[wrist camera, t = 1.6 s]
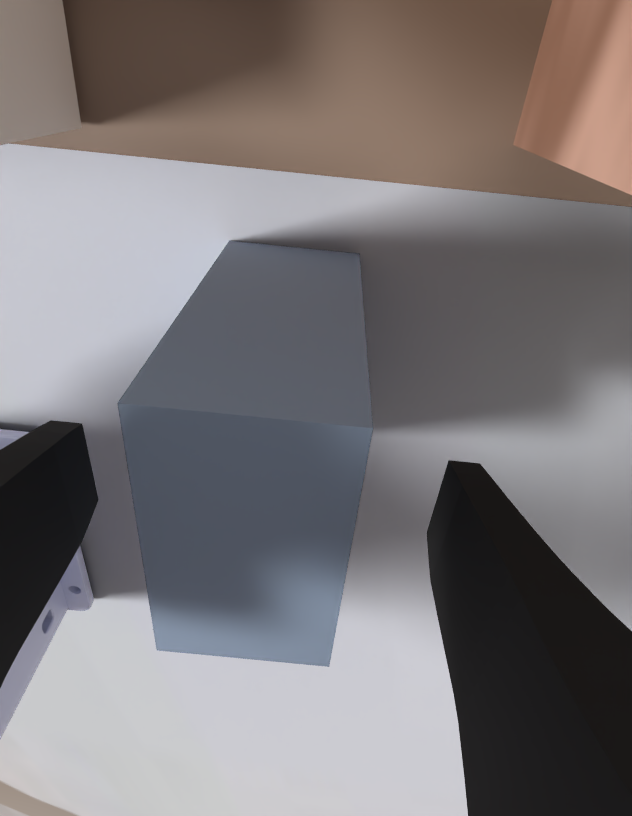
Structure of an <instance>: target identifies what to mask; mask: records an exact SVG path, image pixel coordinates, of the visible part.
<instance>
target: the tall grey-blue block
mask: <svg viewBox="0 0 632 816" xmlns="http://www.w3.org/2000/svg"><path fill="white" fill-rule="evenodd" d="M118 409H119V415H120V422H121V428H122V434H123V441H124V447H125V453H126V459H127V466H128V472H129V478H130V485H131V491H132V497H133V504H134V510H135V516H136V522H137V529H138V535H139V541H140V548H141V554H142V560H143V567H144V573H145V579H146V585H147V592H148V598H149V604H150V611H151V617H152V623H153V630H154V636H155V642H156V648H157V650H159V651H170V652H180V653H191V654H201V655H212V656H222V657H233V658H243V659H254V660H264V661H275V662H285V663H296V664H306V665H317V666H327V667H329V664H330V659H331V653H332V648H333V642H334V637H335V632H336V626H337V621H338V615H339V610H340V604H341V599H342V594H343V588H344V583H345V577H346V572H347V567H348V561H349V556H350V550H351V545H352V539H353V534H354V529H355V523H356V518H357V512H358V507H359V502H360V496H361V491H362V485H363V480H364V474H365V469H366V464H367V458H368V453H369V447H370V442H371V437H372V431H373V422H372V409H371V396H370V383H369V370H368V357H367V344H366V331H365V319H364V306H363V293H362V280H361V267H360V254H357V253H347V252H337V251H327V250H317V249H308V248H298V247H288V246H278V245H268V244H258V243H248V242H238V241H229V242H228V244H227V245H226V247H225V248H224V249H223V251H222V252H221V254H220V255H219V257H218V258H217V260H216V261H215V262H214V264H213V265H212V267H211V268H210V270H209V271H208V273H207V274H206V276H205V277H204V278H203V280H202V281H201V283H200V284H199V286H198V287H197V289H196V290H195V292H194V293H193V294H192V296H191V297H190V299H189V300H188V302H187V303H186V305H185V306H184V307H183V309H182V310H181V312H180V313H179V315H178V316H177V318H176V319H175V321H174V322H173V323H172V325H171V326H170V328H169V329H168V331H167V332H166V334H165V335H164V336H163V338H162V339H161V341H160V342H159V344H158V345H157V347H156V348H155V350H154V351H153V352H152V354H151V355H150V357H149V358H148V360H147V361H146V363H145V364H144V366H143V367H142V368H141V370H140V371H139V373H138V374H137V376H136V377H135V379H134V380H133V381H132V383H131V384H130V386H129V387H128V389H127V390H126V392H125V393H124V395H123V396H122V397H121V399H120V400H119V402H118Z"/></svg>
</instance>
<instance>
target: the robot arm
mask: <svg viewBox="0 0 632 816" xmlns="http://www.w3.org/2000/svg"><path fill="white" fill-rule="evenodd" d="M97 502H98V496H97V491H96V487H95V482H94V477H93V473H92V468H91V463H90V458H89V454H88V449H87V444H86V440H85V435H84V430H83V426H82V424H80V423H70V422H60V421H49V422H47V423H46V424H44V425H42V426H40V427H38V428H36V429H34V430H33V431H31V432H24V431H14V430H3V429H0V739H1V737H2V735H3V733H4V731H5V729H6V727H7V725H8V723H9V721H10V719H11V718H12V716H13V714H14V712H15V710H16V708H17V706H18V704H19V702H20V700H21V698H22V696H23V694H24V692H25V690H26V689H27V687H28V685H29V683H30V681H31V679H32V677H33V675H34V673H35V671H36V669H37V667H38V665H39V663H40V661H41V659H42V658H43V656H44V654H45V652H46V650H47V648H48V646H49V644H50V642H51V640H52V638H53V636H54V634H55V632H56V630H57V628H58V627H59V625H60V623H61V621H62V619H63V617H64V615H65V613H66V611H67V610H77V611H85V610H88V609H89V608H90V607H91V605H92V603H93V601H94V598H93V594H92V590H91V586H90V582H89V578H88V574H87V570H86V566H85V563H84V559H83V555H82V551H81V547H80V544H81V542H82V539H83V537H84V535H85V532H86V530H87V528H88V525H89V523H90V520H91V518H92V515H93V512H94V510H95V507H96V505H97ZM427 542H428V557H429V568H430V579H431V585H432V590H433V595H434V600H435V605H436V610H437V615H438V620H439V625H440V630H441V635H442V640H443V644H444V649H445V654H446V659H447V664H448V669H449V673H450V678H451V683H452V688H453V693H454V699H455V705H456V711H457V717H458V723H459V732H460V741H461V750H462V759H463V768H464V777H465V787H466V798H467V808H468V816H632V631H631V630H630V629H628V628H627V627H626V626H625V625H624V624H623V623H622V622H621V621H620V620H619V619H618V618H617V617H615V616H614V615H613V614H612V613H611V612H610V611H609V610H608V609H607V608H606V607H605V606H604V605H603V604H602V603H601V602H600V601H599V600H598V599H597V598H596V597H595V596H594V595H593V594H592V593H591V592H590V591H589V589H588V588H587V587H586V586H585V585H584V584H583V583H582V582H581V581H580V580H579V579H578V578H577V577H576V576H575V575H574V574H573V573H572V572H571V571H570V570H569V569H568V568H567V566H566V565H565V564H564V563H563V562H562V561H561V560H560V559H559V558H558V556H557V555H556V554H555V553H554V552H553V551H552V550H551V549H550V548H549V546H548V545H547V544H546V543H545V542H544V541H543V540H542V538H541V537H540V536H539V535H538V534H537V533H536V531H535V530H534V529H533V528H532V527H531V526H530V524H529V523H528V522H527V521H526V520H525V518H524V517H523V516H522V515H521V514H520V512H519V511H518V510H517V509H516V507H515V506H514V505H513V504H512V503H511V501H510V500H509V499H508V498H507V496H506V495H505V494H504V493H503V491H502V490H501V489H500V488H499V486H498V485H497V484H496V483H495V481H494V480H493V479H492V478H491V477H490V475H489V474H488V473H487V472H486V470H485V469H484V468H483V467H482V466H481V464H479V463H470V462H460V461H450V460H449V461H448V464H447V468H446V471H445V474H444V478H443V481H442V484H441V488H440V491H439V494H438V498H437V501H436V504H435V507H434V511H433V514H432V517H431V521H430V524H429V527H428V531H427Z"/></svg>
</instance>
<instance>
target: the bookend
mask: <svg viewBox="0 0 632 816" xmlns="http://www.w3.org/2000/svg"><path fill="white" fill-rule="evenodd" d="M79 128H82V127H81V120H80V113H79V107H78V100H77V93H76V87H75V80H74V74H73V67H72V60H71V54H70V47H69V40H68V34H67V27H66V21H65V14H64V7H63V1H62V0H0V145H3V144H8V143H12V142H17V141H22V140H27V139H32V138H36V137H41V136H46V135H51V134H55V133H60V132H65V131H70V130H75V129H79Z"/></svg>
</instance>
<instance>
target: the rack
mask: <svg viewBox="0 0 632 816" xmlns="http://www.w3.org/2000/svg"><path fill="white" fill-rule="evenodd" d="M62 1H63V7H64V14H65V21H66V27H67V34H68V40H69V47H70V54H71V60H72V67H73V74H74V80H75V87H76V93H77V100H78V107H79V113H80V120H81V127H82V128H79V129H75V130H70V131H65V132H60V133H55V134H51V135H46V136H41V137H36V138H32V139H27V140H22V141H17V142H12V143H11V144H21V145H30V146H40V147H50V148H60V149H70V150H79V151H89V152H99V153H109V154H119V155H128V156H138V157H148V158H158V159H168V160H178V161H187V162H197V163H207V164H217V165H227V166H236V167H246V168H256V169H266V170H276V171H285V172H295V173H305V174H315V175H325V176H334V177H344V178H354V179H364V180H374V181H383V182H393V183H403V184H413V185H423V186H432V187H442V188H452V189H462V190H472V191H481V192H491V193H501V194H511V195H521V196H530V197H540V198H550V199H560V200H570V201H579V202H589V203H599V204H609V205H619V206H628V207H632V0H62Z"/></svg>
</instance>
